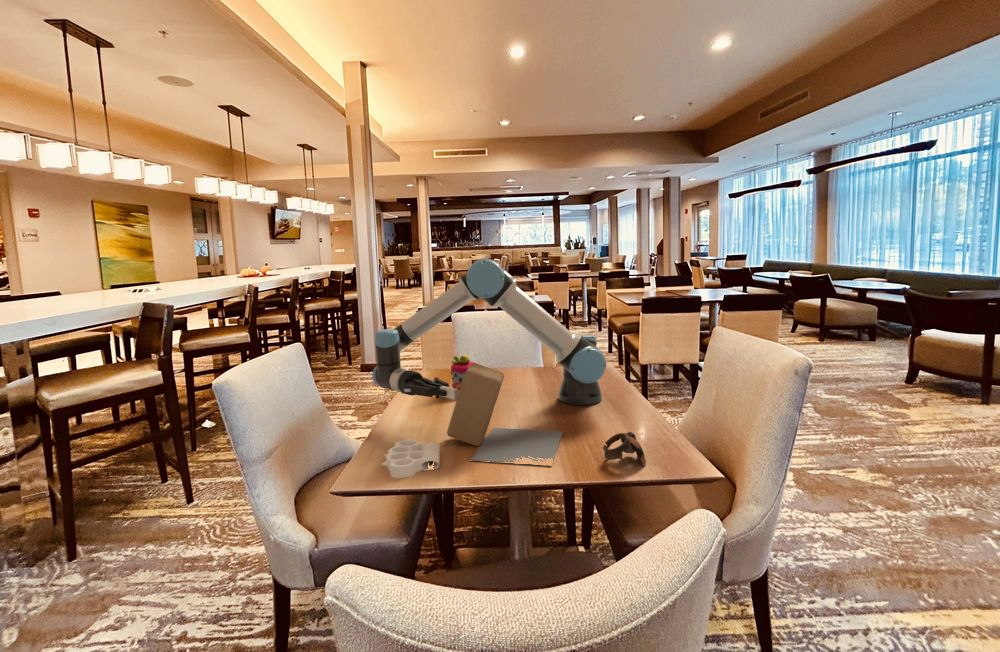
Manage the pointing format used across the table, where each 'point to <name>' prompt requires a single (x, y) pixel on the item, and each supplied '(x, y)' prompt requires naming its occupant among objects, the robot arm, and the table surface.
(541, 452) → the rubber mat
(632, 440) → the brown hollow looped part
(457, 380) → the cake
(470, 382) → the wooden block
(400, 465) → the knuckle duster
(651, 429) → the table surface
